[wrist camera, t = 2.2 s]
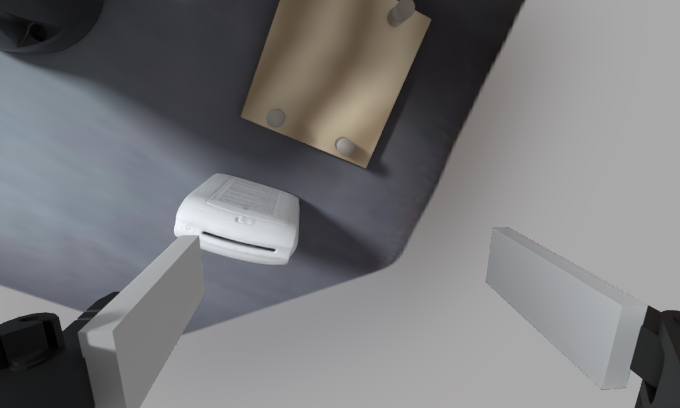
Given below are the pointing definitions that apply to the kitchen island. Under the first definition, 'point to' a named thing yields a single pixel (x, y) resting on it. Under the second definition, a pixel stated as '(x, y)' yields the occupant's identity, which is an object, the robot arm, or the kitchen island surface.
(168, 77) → the kitchen island surface
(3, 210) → the kitchen island surface
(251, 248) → the photo printer
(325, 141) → the peg board
